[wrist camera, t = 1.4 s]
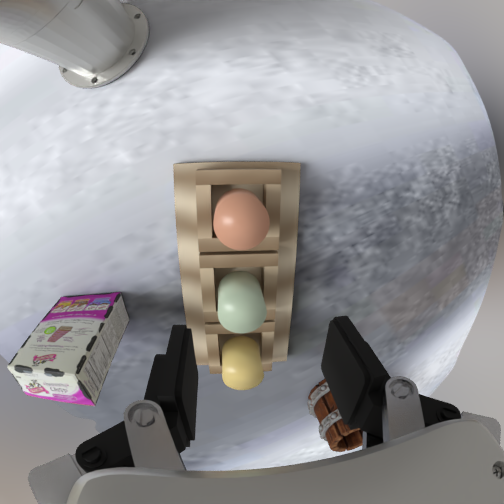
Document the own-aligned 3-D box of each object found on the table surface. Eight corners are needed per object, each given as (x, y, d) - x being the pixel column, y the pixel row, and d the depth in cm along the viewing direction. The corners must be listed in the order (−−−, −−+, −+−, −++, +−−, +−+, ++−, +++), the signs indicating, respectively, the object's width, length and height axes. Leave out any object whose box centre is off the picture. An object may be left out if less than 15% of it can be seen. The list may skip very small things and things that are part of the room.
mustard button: (220, 336, 33) (221, 363, 29) (259, 335, 34) (264, 361, 29) (222, 363, 35) (223, 390, 30) (258, 362, 35) (263, 388, 31)
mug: (336, 360, 42) (379, 430, 29) (373, 374, 48) (410, 427, 35) (289, 400, 44) (318, 469, 31) (333, 408, 51) (361, 462, 38)
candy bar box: (72, 323, 35) (25, 396, 20) (61, 295, 33) (4, 364, 18) (132, 321, 36) (96, 409, 20) (122, 290, 34) (73, 374, 19)
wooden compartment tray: (175, 163, 29) (168, 165, 26) (297, 162, 31) (307, 164, 27) (193, 359, 39) (191, 377, 35) (284, 355, 40) (289, 372, 37)
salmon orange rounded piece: (214, 188, 27) (212, 196, 22) (262, 188, 28) (270, 195, 23) (215, 234, 29) (214, 250, 24) (261, 233, 29) (269, 249, 25)
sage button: (217, 271, 30) (216, 293, 26) (260, 270, 31) (267, 291, 26) (219, 308, 32) (219, 334, 27) (259, 307, 32) (265, 332, 28)
